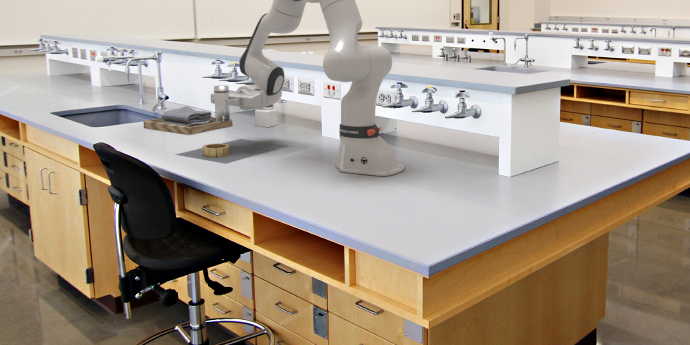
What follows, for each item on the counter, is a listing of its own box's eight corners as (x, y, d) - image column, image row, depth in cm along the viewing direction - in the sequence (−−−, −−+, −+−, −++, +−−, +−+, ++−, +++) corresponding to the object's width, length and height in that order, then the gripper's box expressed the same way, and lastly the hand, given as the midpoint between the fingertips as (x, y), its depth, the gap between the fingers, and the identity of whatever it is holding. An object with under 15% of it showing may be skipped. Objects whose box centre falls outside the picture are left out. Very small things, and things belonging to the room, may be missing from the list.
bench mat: (289, 147, 231) (289, 145, 231) (225, 165, 203) (225, 163, 203) (241, 140, 244) (241, 138, 244) (175, 156, 216) (175, 154, 216)
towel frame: (232, 125, 274) (232, 119, 274) (189, 134, 254) (189, 127, 253) (187, 119, 289) (187, 113, 289) (143, 127, 269) (143, 121, 268)
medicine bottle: (277, 125, 277) (277, 98, 274) (267, 127, 271) (266, 100, 268) (265, 123, 281) (264, 97, 278) (255, 126, 275) (254, 99, 272)
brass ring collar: (235, 153, 217) (234, 145, 217) (216, 158, 210) (216, 150, 209) (216, 150, 222) (215, 142, 222) (197, 155, 215) (196, 146, 214)
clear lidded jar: (233, 120, 217) (231, 85, 214) (223, 122, 213) (221, 87, 210) (222, 118, 220) (221, 85, 217) (212, 120, 216) (210, 86, 213)
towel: (160, 128, 269) (159, 111, 267) (187, 122, 285) (186, 105, 283) (189, 131, 263) (188, 113, 261) (214, 124, 279) (213, 107, 277)
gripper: (225, 87, 230) (198, 90, 219) (268, 90, 219) (241, 94, 208) (226, 104, 232) (199, 108, 220) (268, 108, 221) (242, 113, 210)
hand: (220, 102), depth 214 cm, fingers closed on clear lidded jar, 5 cm apart
